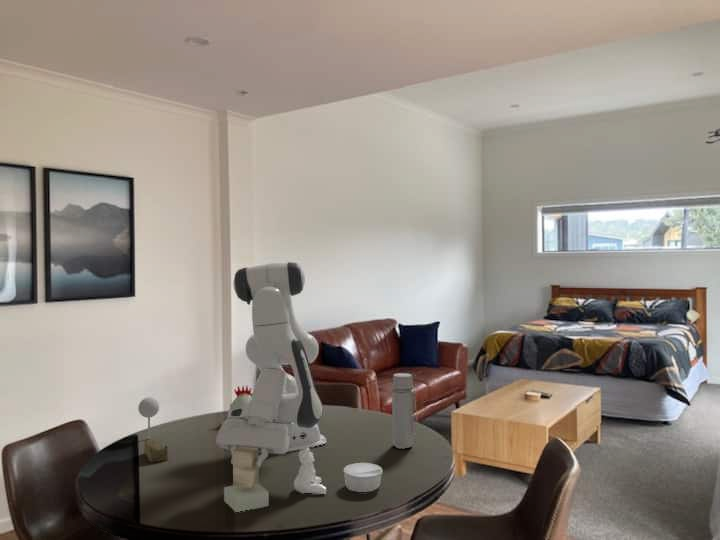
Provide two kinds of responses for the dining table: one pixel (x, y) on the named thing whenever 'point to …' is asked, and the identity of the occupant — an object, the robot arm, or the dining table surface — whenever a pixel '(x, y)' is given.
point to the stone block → (156, 450)
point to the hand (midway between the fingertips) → (245, 465)
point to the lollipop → (148, 409)
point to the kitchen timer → (241, 398)
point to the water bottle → (403, 409)
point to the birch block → (245, 466)
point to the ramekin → (362, 476)
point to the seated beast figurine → (308, 475)
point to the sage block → (246, 497)
